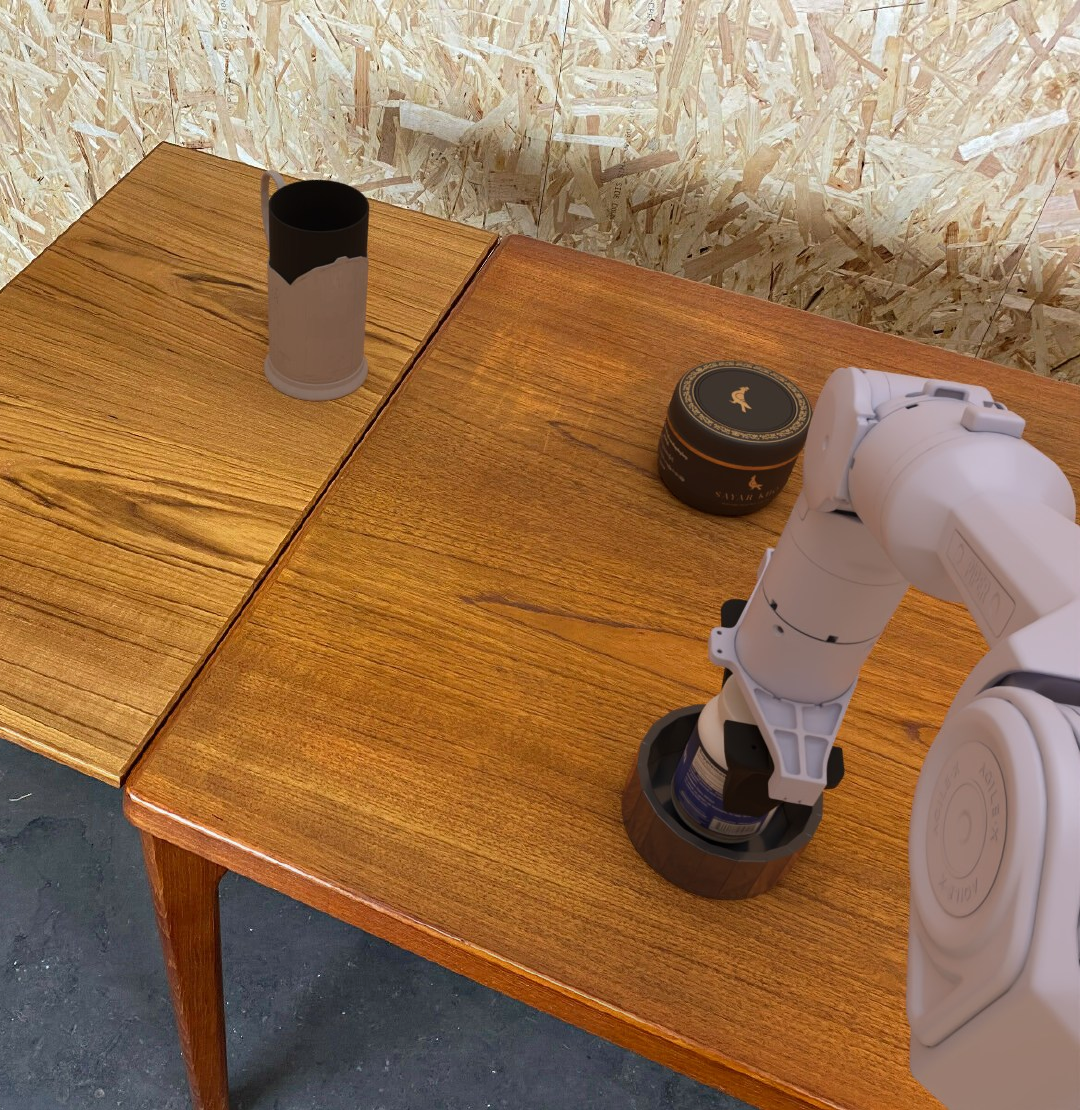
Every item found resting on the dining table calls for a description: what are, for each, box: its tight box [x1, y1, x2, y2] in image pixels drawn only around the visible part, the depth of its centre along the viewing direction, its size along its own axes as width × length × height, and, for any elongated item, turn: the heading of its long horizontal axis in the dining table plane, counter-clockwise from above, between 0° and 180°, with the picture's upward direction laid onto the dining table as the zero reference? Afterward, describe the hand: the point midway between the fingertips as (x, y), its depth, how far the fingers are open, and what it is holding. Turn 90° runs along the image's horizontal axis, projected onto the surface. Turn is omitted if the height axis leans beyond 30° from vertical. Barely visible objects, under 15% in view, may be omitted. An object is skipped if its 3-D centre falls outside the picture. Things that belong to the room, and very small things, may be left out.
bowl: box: [621, 703, 824, 901], centre depth 66 cm, size 10×10×4 cm
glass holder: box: [259, 169, 370, 402], centre depth 92 cm, size 9×14×15 cm, turn 28°
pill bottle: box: [671, 674, 779, 843], centre depth 62 cm, size 6×6×10 cm
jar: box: [657, 359, 814, 516], centre depth 85 cm, size 10×10×8 cm
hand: (740, 758), depth 63 cm, fingers closed on pill bottle, 6 cm apart
